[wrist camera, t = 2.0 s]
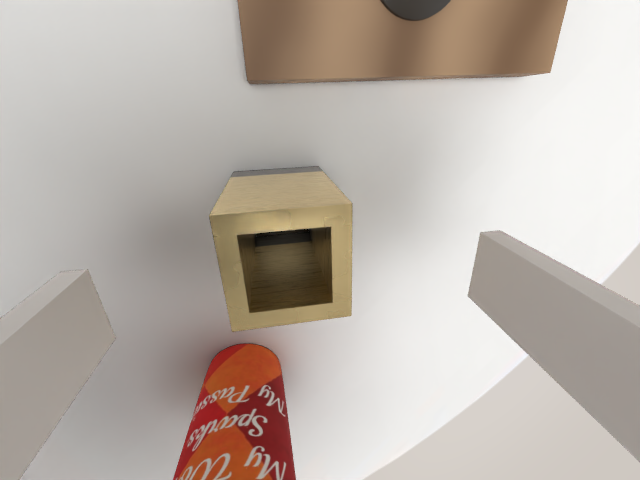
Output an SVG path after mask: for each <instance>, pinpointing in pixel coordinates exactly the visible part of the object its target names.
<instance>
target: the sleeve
mask: <svg viewBox="0 0 640 480" xmlns="http://www.w3.org/2000/svg"><path fill="white" fill-rule="evenodd" d="M209 218H210V223H211V228H212V233H213V238H214V243H215V248H216V253H217V258H218V263H219V268H220V273H221V278H222V284H223V289H224V294H225V299H226V304H227V309H228V314H229V319H230V324H231V329H232V332H235V331H242V330H250V329H257V328H265V327H272V326H280V325H287V324H294V323H302V322H309V321H317V320H324V319H332V318H339V317H347V316H351V309H352V203H351V202H350V201H349V199H348V198H347V197H346V196H345V195H344V194H343V193H342V192H341V191H340V190H339V188H338V187H337V186H336V185H335V184H334V183H333V182H332V181H331V180H330V179H329V177H328V176H327V175H326V174H325V173H324V172H323V171H322V170H321V169H320V168H319V166H314V167H299V168H283V169H268V170H253V171H237V172H233V174H232V176H231V177H230V179H229V181H228V183H227V185H226V186H225V188H224V190H223V192H222V193H221V195H220V197H219V199H218V201H217V202H216V204H215V206H214V208H213V210H212V211H211V213H210V215H209ZM308 228H309V232H300V233H289V234H278V235H268V236H257V237H256V233H265V232H276V231H286V230H297V229H308Z"/></svg>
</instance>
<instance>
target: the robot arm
mask: <svg viewBox="0 0 640 480" xmlns="http://www.w3.org/2000/svg"><path fill="white" fill-rule="evenodd" d="M468 297H469V298H470V299H471V300H472V301H473V302H474V303H475V304H476V305H477V306H478V307H480V308H481V309H482V310H483V311H484V312H485V313H486V314H487V315H488V316H489V317H490V318H491V319H492V320H493V321H494V322H495V323H496V324H497V325H498V326H499V327H500V328H501V329H502V330H503V331H504V332H505V333H506V334H507V335H509V336H510V337H511V338H512V339H513V340H514V341H515V342H516V343H517V344H518V345H519V346H520V347H521V348H522V349H523V350H524V351H525V352H526V353H527V354H528V355H529V356H530V357H531V358H532V359H533V360H534V361H535V362H536V363H538V364H539V365H540V366H541V367H542V368H543V369H544V370H545V371H546V372H547V373H548V374H549V375H550V376H551V377H552V378H553V379H554V380H555V381H556V382H557V383H558V384H559V385H560V386H561V387H562V388H563V389H564V390H565V391H567V392H568V393H569V394H570V395H571V396H572V397H573V398H574V399H575V400H576V401H577V402H578V403H579V404H580V405H581V406H582V407H583V408H584V409H585V410H586V411H587V412H588V413H589V414H590V415H591V416H592V417H593V418H594V419H596V420H597V421H598V422H599V423H600V424H601V425H602V426H603V427H604V428H605V429H606V430H607V431H608V432H609V433H610V434H611V435H612V436H613V437H614V438H615V439H616V440H617V441H618V442H619V443H620V444H621V445H622V446H624V447H625V448H626V449H627V450H628V451H629V452H630V453H631V454H632V455H633V456H634V457H635V458H636V459H637V460H638V461H639V462H640V306H639V305H638V304H636V303H633V302H632V301H630V300H628V299H626V298H624V297H623V296H621V295H619V294H617V293H615V292H613V291H612V290H609V289H608V288H606V287H604V286H602V285H600V284H599V283H597V282H595V281H593V280H591V279H589V278H587V277H586V276H584V275H582V274H580V273H578V272H576V271H574V270H573V269H571V268H569V267H567V266H565V265H563V264H561V263H560V262H558V261H556V260H554V259H552V258H550V257H548V256H547V255H545V254H543V253H541V252H539V251H537V250H535V249H534V248H532V247H530V246H528V245H526V244H524V243H522V242H521V241H519V240H517V239H515V238H513V237H511V236H509V235H508V234H506V233H504V232H502V231H489V232H481V233H480V237H479V242H478V247H477V252H476V257H475V262H474V267H473V272H472V277H471V282H470V287H469V292H468ZM115 339H116V337H115V335H114V333H113V330H112V328H111V325H110V323H109V320H108V318H107V315H106V313H105V311H104V308H103V306H102V303H101V301H100V298H99V296H98V293H97V291H96V289H95V286H94V284H93V281H92V279H91V276H90V274H89V271H88V269H86V270H75V271H65V272H60V273H59V274H57V275H56V276H55V277H53V278H52V279H51V280H49V281H48V282H47V283H46V284H44V285H43V286H42V287H40V288H39V289H38V290H36V291H35V292H34V293H33V294H31V295H30V296H29V297H27V298H26V299H25V300H24V301H22V302H21V303H20V304H18V305H17V306H16V307H14V308H13V309H12V310H11V311H9V312H8V313H7V314H5V315H4V316H3V317H1V318H0V480H19V479H20V478H21V476H22V475H23V474H24V472H25V471H26V469H27V468H28V466H29V465H30V463H31V462H32V460H33V459H34V457H35V456H36V455H37V453H38V452H39V450H40V449H41V447H42V446H43V444H44V443H45V441H46V440H47V438H48V437H49V436H50V434H51V433H52V431H53V430H54V428H55V427H56V425H57V424H58V422H59V421H60V419H61V418H62V417H63V415H64V414H65V412H66V411H67V409H68V408H69V406H70V405H71V403H72V402H73V400H74V399H75V398H76V396H77V395H78V393H79V392H80V390H81V389H82V387H83V386H84V384H85V383H86V381H87V380H88V379H89V377H90V376H91V374H92V373H93V371H94V370H95V368H96V367H97V365H98V364H99V362H100V361H101V359H102V358H103V357H104V355H105V354H106V352H107V351H108V349H109V348H110V346H111V345H112V343H113V342H114V340H115Z"/></svg>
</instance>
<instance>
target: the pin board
mask: <svg viewBox="0 0 640 480" xmlns="http://www.w3.org/2000/svg"><path fill="white" fill-rule="evenodd" d="M567 1H568V0H238V8H239V16H240V24H241V33H242V41H243V49H244V58H245V66H246V74H247V81H248V82H249V84H272V83H308V82H344V81H380V80H416V79H452V78H488V77H522V76H529V75H537V74H544V73H550V71H551V67H552V63H553V59H554V55H555V51H556V47H557V43H558V38H559V34H560V30H561V26H562V22H563V18H564V14H565V10H566V6H567Z"/></svg>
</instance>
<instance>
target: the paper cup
mask: <svg viewBox="0 0 640 480" xmlns="http://www.w3.org/2000/svg"><path fill="white" fill-rule="evenodd" d="M173 480H296V477H295V469H294V461H293V453H292V445H291V437H290V430H289V422H288V414H287V407H286V399H285V392H284V384H283V378H282V371H281V366H280V363H279V360H278V358H277V356H276V355H275V354H274V353H273V352H272V351H271V350H269V349H267V348H265V347H263V346H260V345H256V344H238V345H234V346H231V347H228V348H226V349H224V350H222V351H221V352H219V353H218V354H217V355H216V356H215V357H214V359H213V360H212V362H211V364H210V366H209V368H208V371H207V374H206V377H205V379H204V382H203V385H202V388H201V392H200V395H199V398H198V401H197V404H196V407H195V411H194V414H193V417H192V420H191V423H190V426H189V430H188V433H187V436H186V439H185V442H184V446H183V449H182V452H181V455H180V459H179V462H178V465H177V468H176V471H175V475H174V478H173Z"/></svg>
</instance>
